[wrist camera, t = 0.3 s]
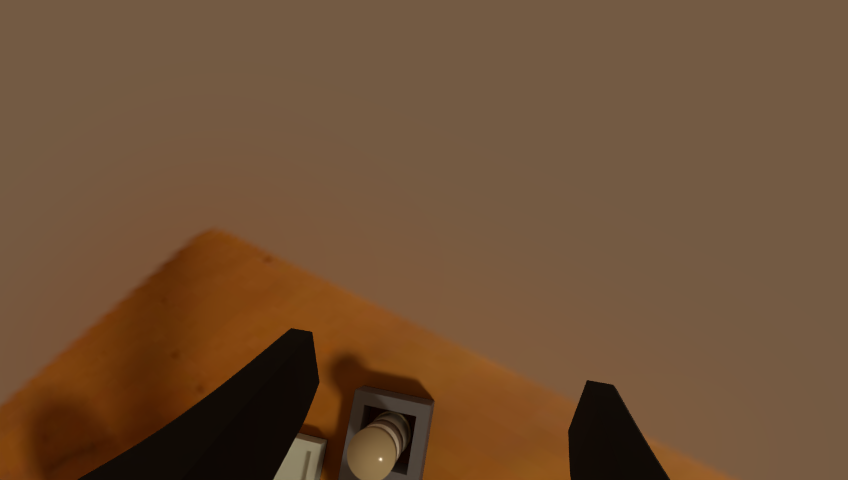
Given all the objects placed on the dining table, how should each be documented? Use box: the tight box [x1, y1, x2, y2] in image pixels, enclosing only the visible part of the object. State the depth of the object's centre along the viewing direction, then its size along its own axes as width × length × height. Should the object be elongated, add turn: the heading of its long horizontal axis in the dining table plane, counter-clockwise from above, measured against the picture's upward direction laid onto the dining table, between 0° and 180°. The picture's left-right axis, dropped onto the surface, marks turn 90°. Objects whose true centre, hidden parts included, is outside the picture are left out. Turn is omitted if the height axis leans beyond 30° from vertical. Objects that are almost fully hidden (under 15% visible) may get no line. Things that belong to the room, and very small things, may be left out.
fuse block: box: [338, 386, 434, 480], centre depth 36 cm, size 14×7×2 cm, turn 170°
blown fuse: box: [347, 410, 412, 480], centre depth 35 cm, size 4×4×7 cm
